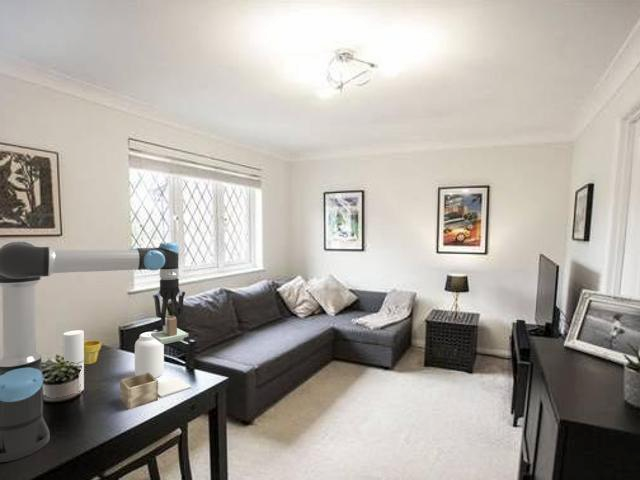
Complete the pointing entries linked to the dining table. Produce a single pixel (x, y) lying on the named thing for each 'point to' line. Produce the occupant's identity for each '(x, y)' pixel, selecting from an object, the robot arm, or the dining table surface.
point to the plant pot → (91, 351)
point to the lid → (170, 332)
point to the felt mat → (172, 387)
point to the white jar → (149, 355)
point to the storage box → (138, 390)
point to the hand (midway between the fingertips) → (169, 331)
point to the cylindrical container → (74, 350)
